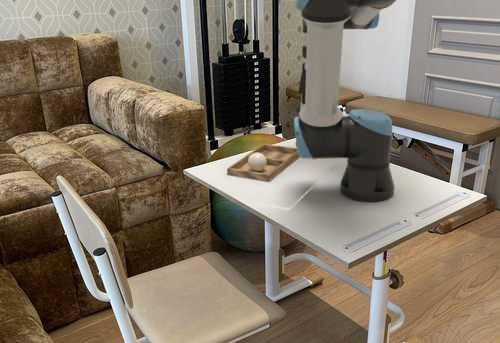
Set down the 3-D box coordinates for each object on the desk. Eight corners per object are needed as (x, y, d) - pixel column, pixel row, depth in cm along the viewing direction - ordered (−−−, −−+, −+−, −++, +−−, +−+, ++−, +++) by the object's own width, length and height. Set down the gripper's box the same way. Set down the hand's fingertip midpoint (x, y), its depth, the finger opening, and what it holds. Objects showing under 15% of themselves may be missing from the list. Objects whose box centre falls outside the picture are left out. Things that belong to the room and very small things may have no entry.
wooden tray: (301, 157, 171) (301, 149, 170) (269, 184, 150) (269, 175, 149) (263, 151, 178) (263, 143, 176) (227, 177, 156) (227, 168, 155)
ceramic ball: (270, 168, 159) (269, 151, 157) (261, 175, 154) (261, 157, 152) (253, 166, 162) (252, 148, 160) (244, 172, 157) (244, 154, 155)
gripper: (316, 39, 176) (315, 98, 184) (288, 50, 155) (288, 116, 163) (336, 40, 172) (334, 100, 180) (310, 51, 152) (309, 118, 160)
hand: (312, 108), depth 172 cm, fingers open, 13 cm apart
